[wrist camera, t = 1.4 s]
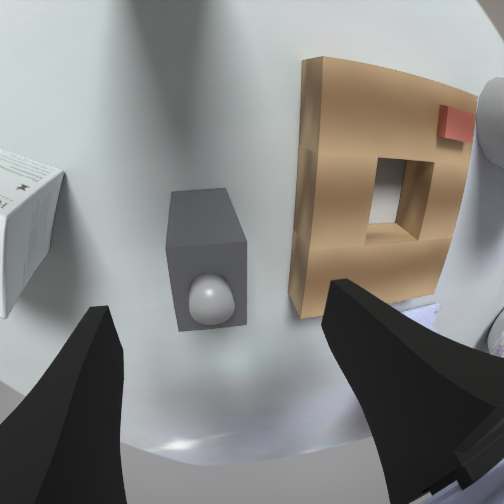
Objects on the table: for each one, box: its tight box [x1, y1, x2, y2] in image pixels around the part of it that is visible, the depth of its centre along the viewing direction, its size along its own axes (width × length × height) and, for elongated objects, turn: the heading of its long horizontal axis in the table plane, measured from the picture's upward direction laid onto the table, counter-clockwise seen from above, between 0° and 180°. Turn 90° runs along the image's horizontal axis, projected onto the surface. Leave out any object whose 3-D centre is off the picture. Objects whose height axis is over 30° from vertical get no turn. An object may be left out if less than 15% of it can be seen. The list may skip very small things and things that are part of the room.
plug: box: [166, 188, 247, 332], centre depth 16 cm, size 4×3×8 cm
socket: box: [288, 56, 478, 319], centre depth 19 cm, size 16×12×4 cm
